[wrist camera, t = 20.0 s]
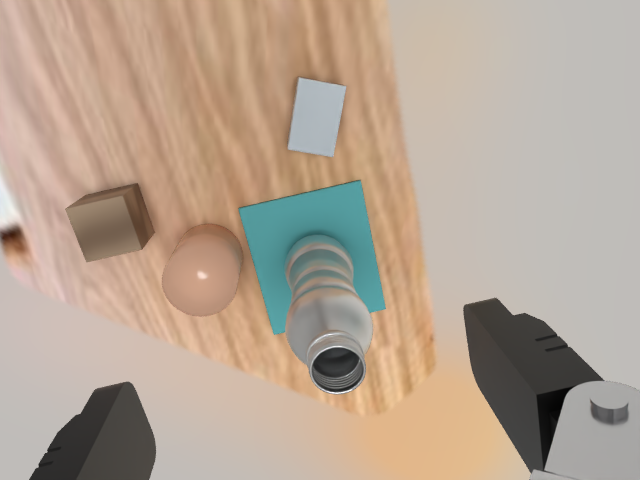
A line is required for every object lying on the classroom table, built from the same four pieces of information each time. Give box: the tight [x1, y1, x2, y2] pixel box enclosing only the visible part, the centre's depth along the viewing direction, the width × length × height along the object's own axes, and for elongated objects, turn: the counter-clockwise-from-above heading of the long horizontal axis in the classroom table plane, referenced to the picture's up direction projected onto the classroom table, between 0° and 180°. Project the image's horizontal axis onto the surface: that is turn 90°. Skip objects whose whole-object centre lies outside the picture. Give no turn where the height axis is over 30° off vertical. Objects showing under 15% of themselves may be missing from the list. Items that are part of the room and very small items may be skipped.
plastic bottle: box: [284, 235, 373, 394], centre depth 42 cm, size 6×7×20 cm
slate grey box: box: [287, 77, 346, 157], centre depth 46 cm, size 6×4×4 cm, turn 170°
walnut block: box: [65, 183, 155, 262], centre depth 47 cm, size 5×5×5 cm
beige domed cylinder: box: [162, 224, 243, 316], centre depth 48 cm, size 6×6×7 cm
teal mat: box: [239, 180, 386, 335], centre depth 52 cm, size 14×12×1 cm
